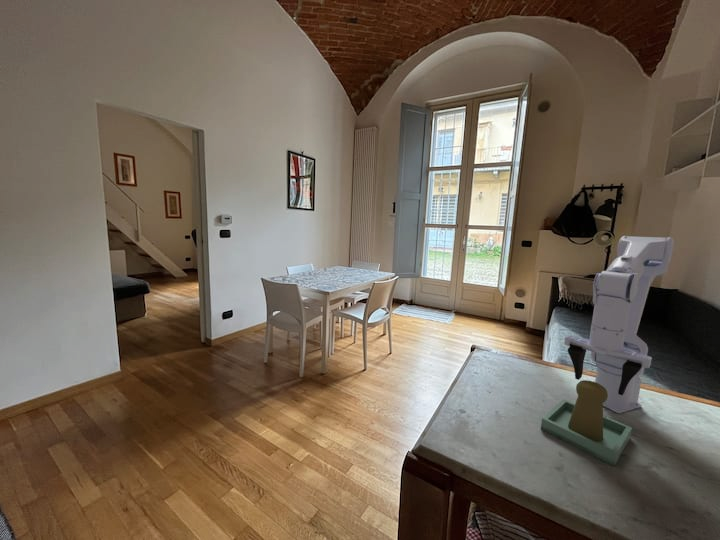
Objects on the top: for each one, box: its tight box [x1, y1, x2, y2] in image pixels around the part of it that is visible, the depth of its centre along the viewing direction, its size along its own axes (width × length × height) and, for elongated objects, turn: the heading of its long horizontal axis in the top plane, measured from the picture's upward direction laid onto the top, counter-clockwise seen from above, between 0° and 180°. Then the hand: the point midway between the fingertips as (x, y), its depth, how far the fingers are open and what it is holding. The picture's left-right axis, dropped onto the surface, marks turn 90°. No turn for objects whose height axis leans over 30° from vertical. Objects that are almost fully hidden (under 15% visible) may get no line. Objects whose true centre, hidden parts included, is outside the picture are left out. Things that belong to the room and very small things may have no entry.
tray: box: [540, 398, 633, 467], centre depth 63 cm, size 13×13×2 cm
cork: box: [568, 379, 608, 442], centre depth 62 cm, size 6×6×11 cm
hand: (598, 385), depth 66 cm, fingers open, 7 cm apart
